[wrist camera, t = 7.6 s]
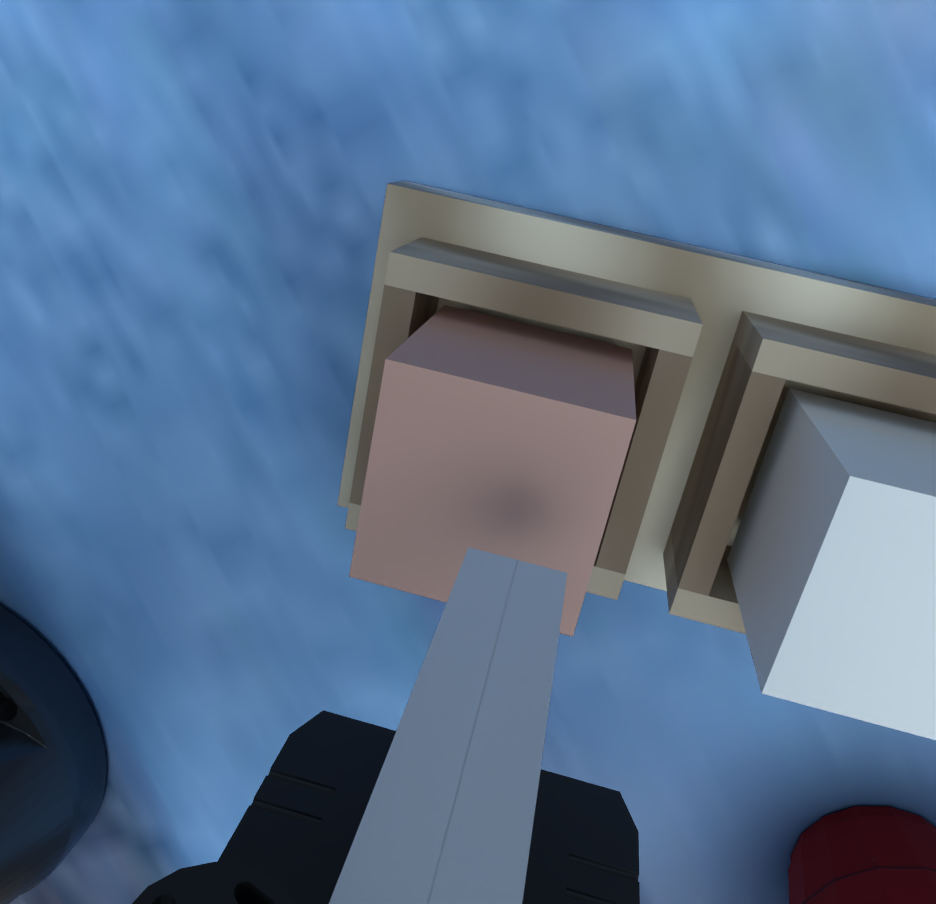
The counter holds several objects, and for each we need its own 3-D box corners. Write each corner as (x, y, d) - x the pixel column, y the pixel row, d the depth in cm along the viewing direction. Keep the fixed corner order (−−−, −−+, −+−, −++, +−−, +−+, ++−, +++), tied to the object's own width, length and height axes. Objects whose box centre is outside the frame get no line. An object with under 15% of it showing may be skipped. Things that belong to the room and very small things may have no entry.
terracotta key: (412, 475, 24) (348, 576, 18) (445, 305, 22) (385, 358, 16) (583, 519, 23) (573, 636, 18) (631, 349, 21) (636, 420, 16)
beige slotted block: (355, 481, 28) (298, 555, 23) (404, 180, 25) (348, 189, 20) (1211, 702, 26) (1354, 837, 21) (1407, 405, 22) (1638, 481, 17)
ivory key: (726, 559, 23) (761, 693, 17) (788, 388, 21) (850, 475, 15) (912, 607, 22) (1009, 760, 17) (992, 436, 20) (1130, 544, 15)
